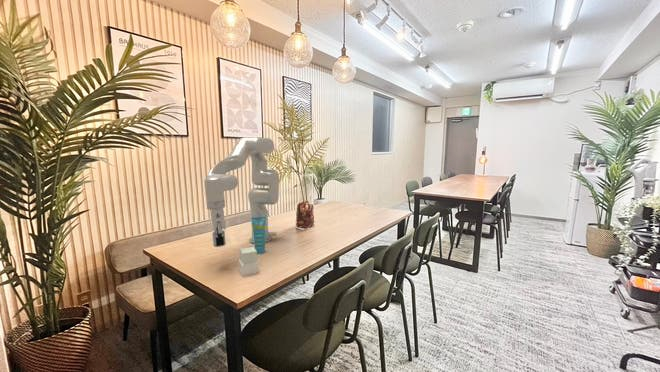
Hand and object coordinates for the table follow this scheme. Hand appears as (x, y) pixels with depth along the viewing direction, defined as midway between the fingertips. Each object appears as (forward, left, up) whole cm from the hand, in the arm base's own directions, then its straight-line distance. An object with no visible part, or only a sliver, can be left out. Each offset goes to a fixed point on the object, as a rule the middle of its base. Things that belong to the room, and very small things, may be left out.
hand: (219, 242), depth 124 cm
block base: (-10, +11, -12) cm, 19 cm away
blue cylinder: (0, 0, -1) cm, 1 cm away
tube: (-20, -9, -12) cm, 25 cm away
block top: (-11, +11, -7) cm, 17 cm away
